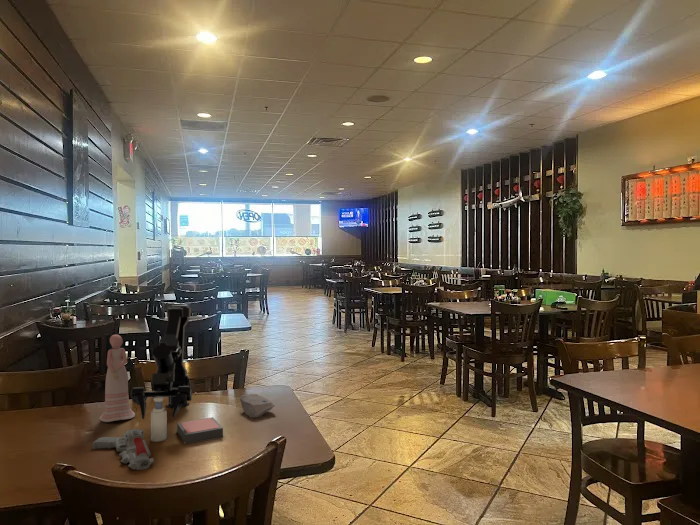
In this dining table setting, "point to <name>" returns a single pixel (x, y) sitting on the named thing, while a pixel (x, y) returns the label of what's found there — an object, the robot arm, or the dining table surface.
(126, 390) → the figurine
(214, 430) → the stand
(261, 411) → the stone
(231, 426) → the dining table surface
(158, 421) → the white bottle
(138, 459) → the toy gun
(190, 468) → the dining table surface
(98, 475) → the dining table surface
